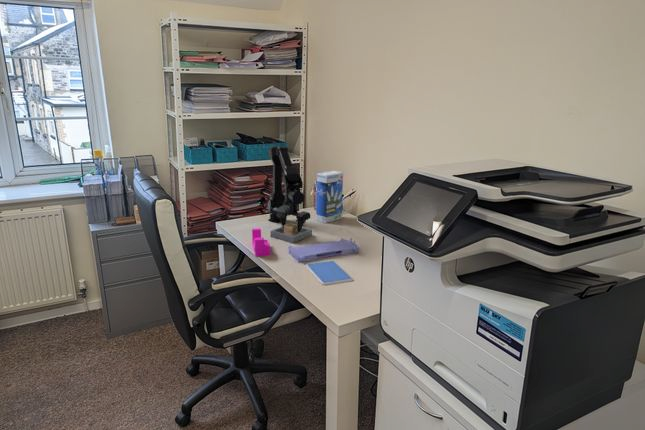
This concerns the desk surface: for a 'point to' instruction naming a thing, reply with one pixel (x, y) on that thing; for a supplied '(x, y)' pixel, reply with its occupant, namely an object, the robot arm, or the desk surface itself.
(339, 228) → the desk surface
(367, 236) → the desk surface
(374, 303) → the desk surface
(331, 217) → the string lights box
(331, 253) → the lavender slotted plate
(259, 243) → the toy block
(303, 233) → the tray
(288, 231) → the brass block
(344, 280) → the blue book
